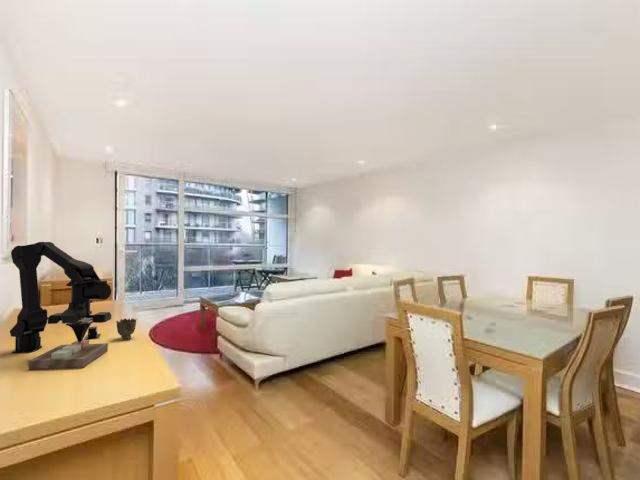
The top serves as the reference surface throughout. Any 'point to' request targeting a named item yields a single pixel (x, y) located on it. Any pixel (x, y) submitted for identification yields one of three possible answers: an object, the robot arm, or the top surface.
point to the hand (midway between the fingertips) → (80, 341)
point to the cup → (126, 328)
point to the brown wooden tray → (73, 361)
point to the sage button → (61, 354)
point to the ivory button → (73, 347)
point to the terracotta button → (82, 343)
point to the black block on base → (92, 333)
